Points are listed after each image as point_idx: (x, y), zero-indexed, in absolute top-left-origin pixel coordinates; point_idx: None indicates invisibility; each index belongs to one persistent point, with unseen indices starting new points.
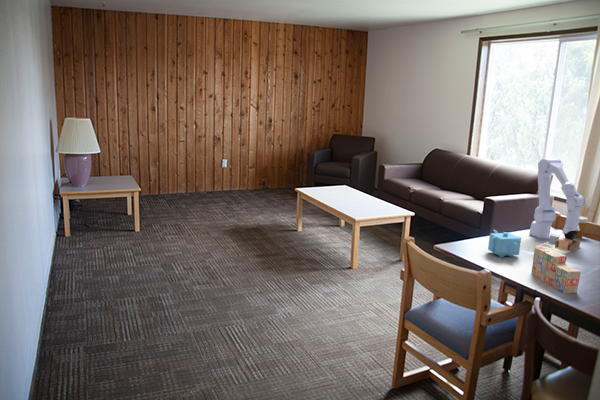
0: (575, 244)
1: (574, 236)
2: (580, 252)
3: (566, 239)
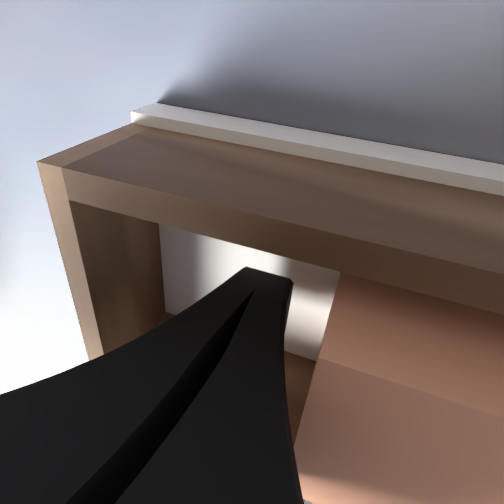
0: (314, 208)
1: (130, 391)
2: (323, 29)
3: (385, 469)
